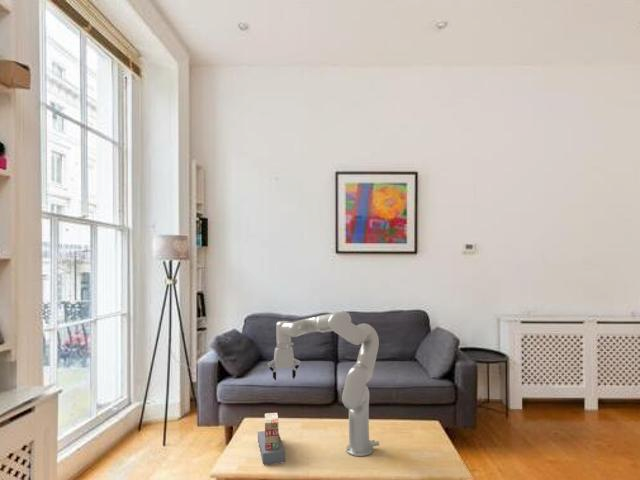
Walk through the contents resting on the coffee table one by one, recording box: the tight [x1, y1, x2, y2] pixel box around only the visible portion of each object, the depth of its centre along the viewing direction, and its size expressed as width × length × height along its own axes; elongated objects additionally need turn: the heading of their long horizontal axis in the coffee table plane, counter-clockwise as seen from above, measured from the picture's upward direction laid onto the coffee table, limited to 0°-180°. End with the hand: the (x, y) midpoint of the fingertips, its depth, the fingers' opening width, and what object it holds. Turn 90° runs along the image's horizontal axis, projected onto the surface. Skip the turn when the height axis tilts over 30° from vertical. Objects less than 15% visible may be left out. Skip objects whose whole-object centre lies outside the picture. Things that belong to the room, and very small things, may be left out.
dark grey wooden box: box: [257, 430, 286, 466], centre depth 206 cm, size 10×26×5 cm, turn 13°
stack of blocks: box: [264, 412, 279, 450], centre depth 207 cm, size 21×6×12 cm, turn 7°
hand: (284, 378), depth 222 cm, fingers open, 9 cm apart
